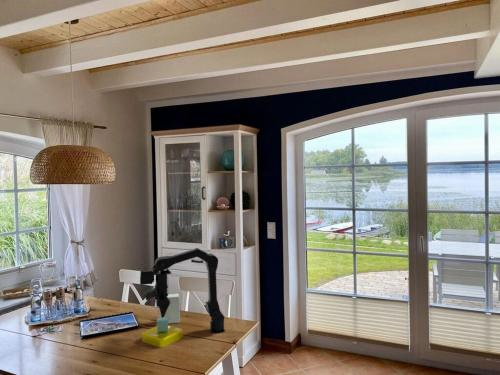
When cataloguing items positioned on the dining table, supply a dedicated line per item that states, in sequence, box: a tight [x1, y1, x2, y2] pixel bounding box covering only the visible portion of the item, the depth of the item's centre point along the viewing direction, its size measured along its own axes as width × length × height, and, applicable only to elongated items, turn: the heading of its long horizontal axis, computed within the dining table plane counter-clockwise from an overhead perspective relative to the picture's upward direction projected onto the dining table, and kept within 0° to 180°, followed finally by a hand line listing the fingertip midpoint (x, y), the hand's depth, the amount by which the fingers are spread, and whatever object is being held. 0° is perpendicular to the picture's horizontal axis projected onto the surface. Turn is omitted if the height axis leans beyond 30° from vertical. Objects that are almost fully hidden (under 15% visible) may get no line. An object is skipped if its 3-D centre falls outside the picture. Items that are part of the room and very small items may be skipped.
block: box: [156, 316, 169, 332], centre depth 187 cm, size 5×5×5 cm
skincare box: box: [164, 292, 181, 325], centre depth 209 cm, size 8×6×15 cm
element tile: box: [141, 324, 183, 348], centre depth 187 cm, size 15×15×5 cm
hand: (161, 314), depth 187 cm, fingers open, 9 cm apart
